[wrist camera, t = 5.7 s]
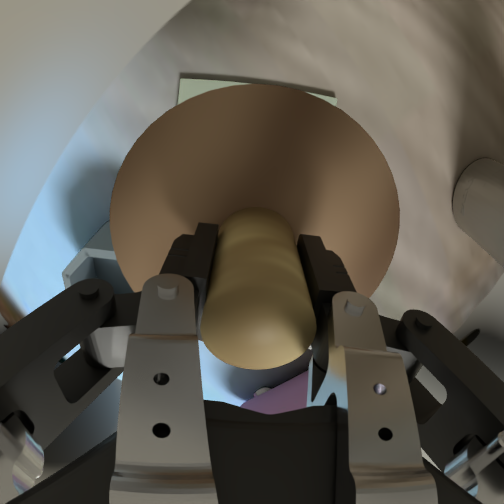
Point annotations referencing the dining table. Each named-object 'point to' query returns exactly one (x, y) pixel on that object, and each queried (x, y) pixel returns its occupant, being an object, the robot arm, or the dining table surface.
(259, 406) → the toy
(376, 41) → the dining table surface
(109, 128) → the dining table surface
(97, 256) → the cup
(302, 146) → the lid
